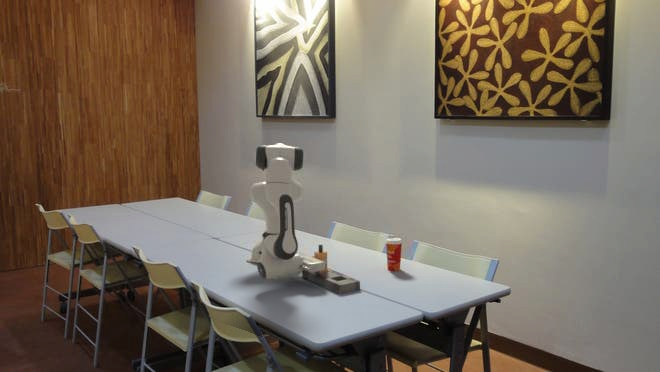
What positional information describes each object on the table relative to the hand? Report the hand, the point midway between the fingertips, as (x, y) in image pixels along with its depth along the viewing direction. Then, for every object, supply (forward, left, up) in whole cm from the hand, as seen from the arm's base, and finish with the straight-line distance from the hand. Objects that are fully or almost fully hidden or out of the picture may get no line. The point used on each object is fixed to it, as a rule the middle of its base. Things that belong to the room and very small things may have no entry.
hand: (322, 259), depth 255 cm
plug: (-1, -1, -9) cm, 9 cm away
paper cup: (+28, +21, -9) cm, 36 cm away
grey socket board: (+5, -5, -9) cm, 11 cm away
